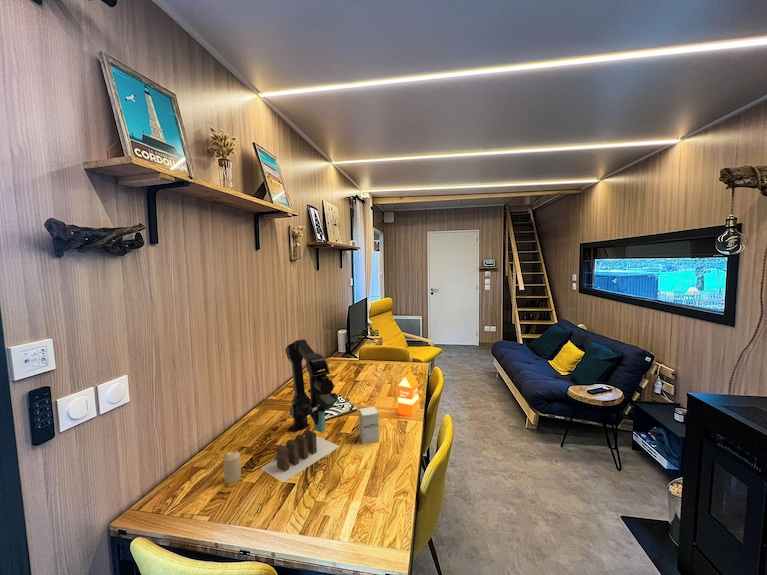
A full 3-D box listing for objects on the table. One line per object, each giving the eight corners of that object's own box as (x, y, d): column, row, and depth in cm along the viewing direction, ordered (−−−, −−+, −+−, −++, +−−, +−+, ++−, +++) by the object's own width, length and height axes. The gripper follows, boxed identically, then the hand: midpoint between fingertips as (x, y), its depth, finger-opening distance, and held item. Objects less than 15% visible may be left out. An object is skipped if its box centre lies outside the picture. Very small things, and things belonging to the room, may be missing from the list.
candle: (236, 472, 120) (235, 446, 119) (244, 478, 117) (242, 451, 116) (221, 480, 116) (220, 453, 115) (228, 486, 112) (227, 458, 112)
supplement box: (362, 444, 137) (361, 415, 136) (359, 436, 144) (358, 408, 143) (379, 441, 139) (378, 412, 138) (375, 433, 146) (374, 405, 145)
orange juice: (398, 413, 165) (397, 375, 164) (405, 407, 173) (404, 370, 171) (412, 416, 161) (411, 377, 160) (418, 409, 169) (418, 372, 168)
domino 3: (304, 459, 126) (303, 440, 126) (296, 455, 129) (295, 436, 129) (308, 457, 128) (307, 438, 127) (300, 453, 131) (299, 434, 130)
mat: (260, 469, 122) (260, 468, 122) (317, 437, 144) (317, 436, 144) (283, 483, 113) (283, 482, 113) (339, 446, 135) (339, 446, 135)
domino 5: (322, 433, 133) (321, 414, 132) (314, 429, 136) (313, 411, 135) (325, 431, 134) (324, 412, 134) (317, 428, 137) (316, 409, 137)
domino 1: (285, 471, 119) (284, 450, 119) (277, 467, 122) (276, 446, 122) (289, 469, 121) (288, 448, 120) (281, 464, 123) (280, 444, 123)
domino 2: (295, 465, 123) (294, 445, 122) (287, 461, 126) (286, 441, 125) (298, 463, 124) (297, 443, 124) (291, 459, 127) (290, 439, 127)
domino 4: (313, 454, 130) (312, 435, 129) (305, 450, 133) (304, 431, 132) (316, 452, 131) (316, 433, 131) (309, 448, 134) (308, 429, 134)
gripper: (312, 399, 122) (314, 439, 123) (346, 384, 137) (348, 419, 138) (293, 392, 129) (295, 430, 130) (328, 379, 143) (329, 413, 144)
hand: (318, 423), depth 135 cm, fingers closed on domino 5, 2 cm apart
